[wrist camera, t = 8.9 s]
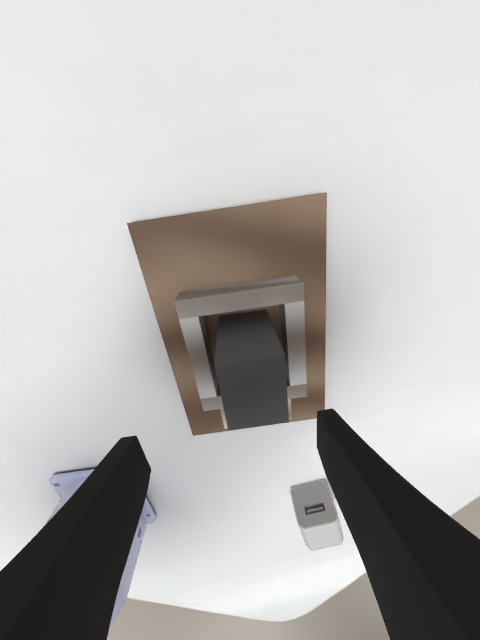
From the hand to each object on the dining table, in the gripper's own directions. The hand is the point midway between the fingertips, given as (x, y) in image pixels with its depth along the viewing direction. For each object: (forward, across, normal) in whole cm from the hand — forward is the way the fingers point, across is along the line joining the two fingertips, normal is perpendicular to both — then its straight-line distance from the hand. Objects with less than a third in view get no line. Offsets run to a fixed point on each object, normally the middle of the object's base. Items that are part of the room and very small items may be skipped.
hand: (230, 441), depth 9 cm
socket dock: (+9, -1, 0) cm, 9 cm away
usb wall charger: (+10, -6, +23) cm, 26 cm away
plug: (+9, -1, 0) cm, 9 cm away
